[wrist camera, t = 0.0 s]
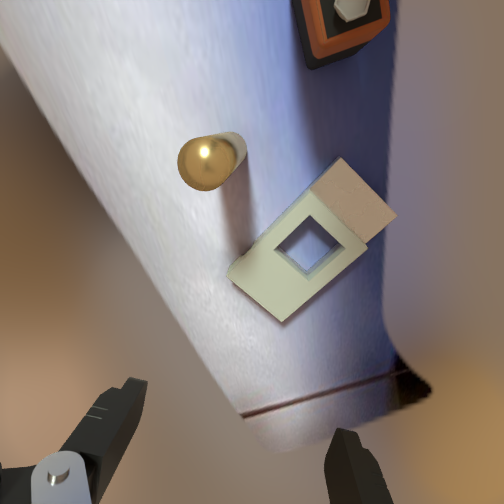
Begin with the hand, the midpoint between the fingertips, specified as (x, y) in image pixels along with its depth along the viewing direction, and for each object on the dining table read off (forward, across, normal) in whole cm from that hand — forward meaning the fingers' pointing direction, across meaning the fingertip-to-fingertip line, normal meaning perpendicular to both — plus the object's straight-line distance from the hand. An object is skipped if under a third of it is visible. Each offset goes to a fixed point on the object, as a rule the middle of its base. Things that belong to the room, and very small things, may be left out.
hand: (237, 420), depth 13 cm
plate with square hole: (+22, -4, -2) cm, 23 cm away
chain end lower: (+22, -6, -6) cm, 23 cm away
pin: (+21, +5, -11) cm, 24 cm away
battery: (+20, 0, -23) cm, 30 cm away
